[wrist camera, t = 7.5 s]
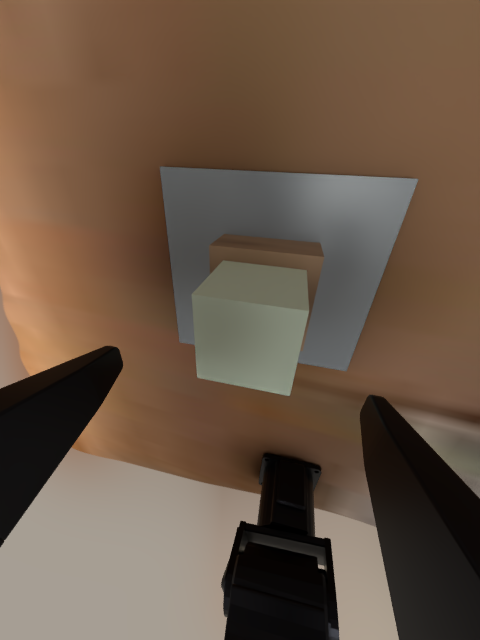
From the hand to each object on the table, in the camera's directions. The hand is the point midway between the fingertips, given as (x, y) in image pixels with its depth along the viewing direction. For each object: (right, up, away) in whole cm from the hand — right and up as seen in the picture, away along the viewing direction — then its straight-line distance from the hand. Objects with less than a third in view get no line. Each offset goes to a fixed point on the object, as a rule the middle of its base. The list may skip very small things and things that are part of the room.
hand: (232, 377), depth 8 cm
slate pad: (+2, +5, +8) cm, 10 cm away
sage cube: (+1, +3, +5) cm, 6 cm away
